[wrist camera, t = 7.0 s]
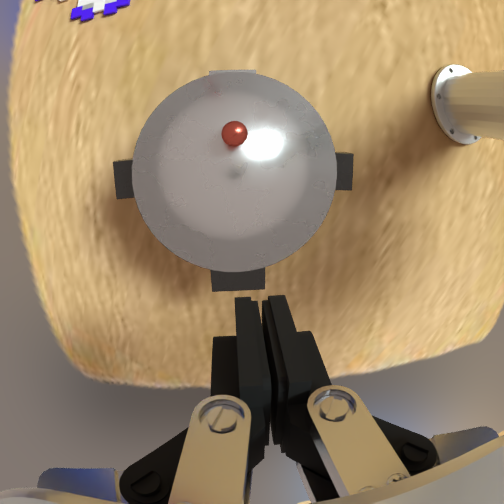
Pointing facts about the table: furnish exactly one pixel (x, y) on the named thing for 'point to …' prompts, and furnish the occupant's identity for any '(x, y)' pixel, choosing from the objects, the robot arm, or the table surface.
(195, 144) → the lid
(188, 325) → the table surface
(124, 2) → the building block set
